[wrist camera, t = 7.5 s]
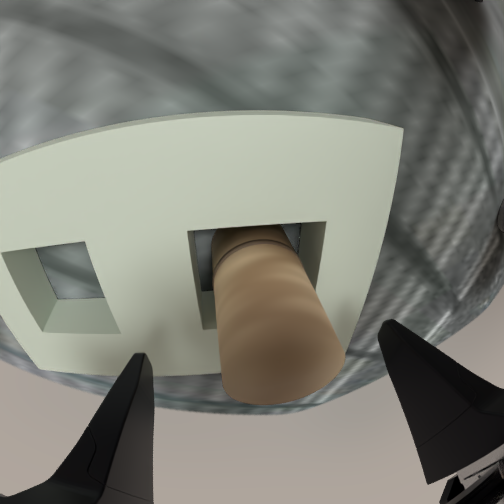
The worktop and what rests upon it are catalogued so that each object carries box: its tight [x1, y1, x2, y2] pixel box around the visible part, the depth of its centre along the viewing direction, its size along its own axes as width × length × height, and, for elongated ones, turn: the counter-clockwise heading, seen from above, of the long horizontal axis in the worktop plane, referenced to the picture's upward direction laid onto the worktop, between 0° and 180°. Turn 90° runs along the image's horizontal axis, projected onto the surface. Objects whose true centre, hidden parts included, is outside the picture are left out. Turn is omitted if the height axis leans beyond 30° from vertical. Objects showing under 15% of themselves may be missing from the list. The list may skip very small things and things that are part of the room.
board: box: [0, 110, 404, 376], centre depth 13 cm, size 22×14×3 cm, turn 90°
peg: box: [211, 224, 345, 405], centre depth 11 cm, size 4×4×8 cm
